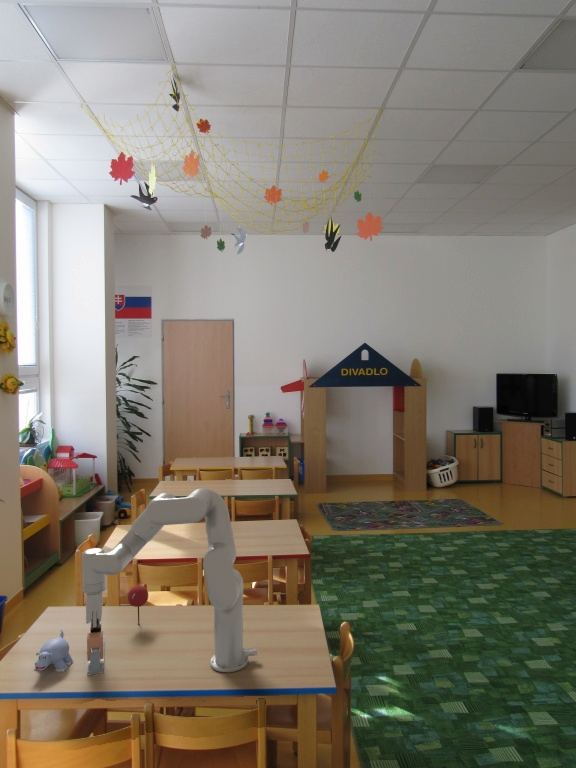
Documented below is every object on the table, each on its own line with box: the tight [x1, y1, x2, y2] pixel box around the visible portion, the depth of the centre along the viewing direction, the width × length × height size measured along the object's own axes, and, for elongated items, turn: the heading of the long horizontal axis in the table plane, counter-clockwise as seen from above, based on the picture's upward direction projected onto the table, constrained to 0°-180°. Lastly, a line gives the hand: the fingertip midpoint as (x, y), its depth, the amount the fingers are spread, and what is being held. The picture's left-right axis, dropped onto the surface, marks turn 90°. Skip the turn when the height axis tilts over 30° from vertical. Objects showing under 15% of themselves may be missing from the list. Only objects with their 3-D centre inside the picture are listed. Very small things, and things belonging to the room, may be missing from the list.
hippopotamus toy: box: [33, 629, 74, 673], centre depth 196 cm, size 11×15×10 cm
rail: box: [86, 622, 105, 676], centre depth 203 cm, size 5×23×7 cm, turn 16°
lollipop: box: [127, 585, 149, 625], centre depth 227 cm, size 8×8×15 cm
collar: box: [86, 630, 105, 662], centre depth 197 cm, size 5×4×8 cm
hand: (95, 638), depth 201 cm, fingers closed
